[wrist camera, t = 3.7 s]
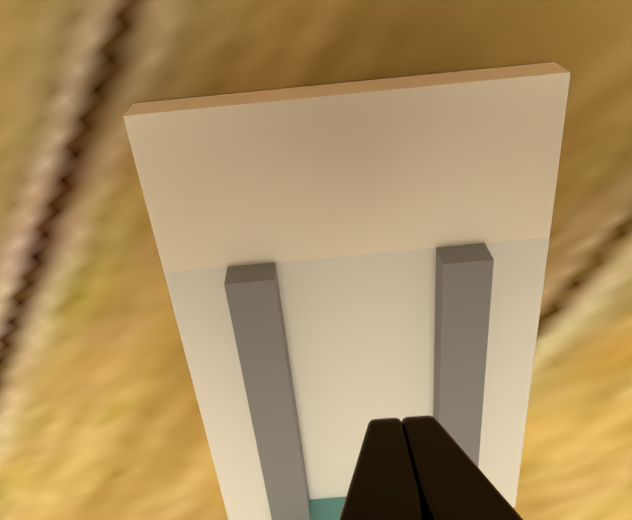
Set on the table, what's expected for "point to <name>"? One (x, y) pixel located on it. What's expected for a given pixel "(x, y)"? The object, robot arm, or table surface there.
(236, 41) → the table surface
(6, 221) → the table surface
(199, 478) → the table surface
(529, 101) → the rail board
